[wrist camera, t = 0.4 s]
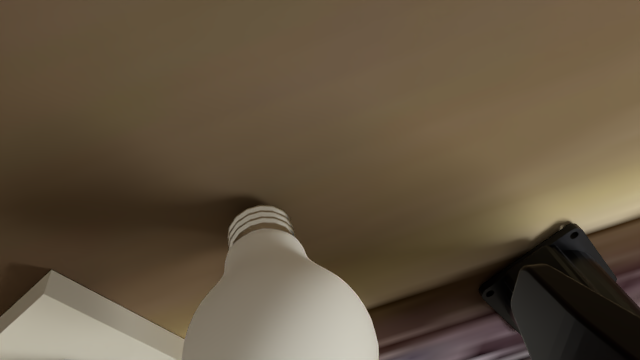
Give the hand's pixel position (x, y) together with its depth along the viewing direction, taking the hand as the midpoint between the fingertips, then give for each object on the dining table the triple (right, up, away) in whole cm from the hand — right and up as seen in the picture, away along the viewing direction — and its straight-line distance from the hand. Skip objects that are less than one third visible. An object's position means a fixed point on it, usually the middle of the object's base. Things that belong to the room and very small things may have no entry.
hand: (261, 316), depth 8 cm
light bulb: (-2, 0, +16) cm, 16 cm away
